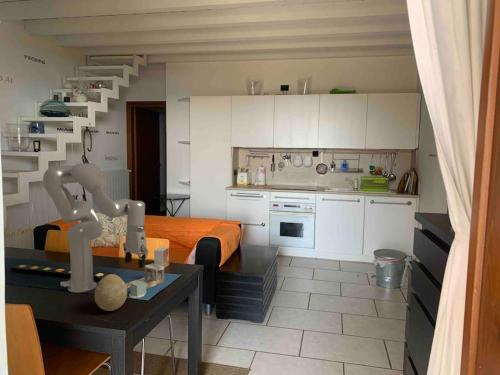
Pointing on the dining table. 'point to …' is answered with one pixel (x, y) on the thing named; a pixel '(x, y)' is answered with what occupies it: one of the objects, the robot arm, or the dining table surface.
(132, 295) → the coaster
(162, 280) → the tunnel
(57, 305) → the dining table surface
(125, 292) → the fossilized egg
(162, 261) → the small box
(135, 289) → the block
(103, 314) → the dining table surface
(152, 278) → the push bar
